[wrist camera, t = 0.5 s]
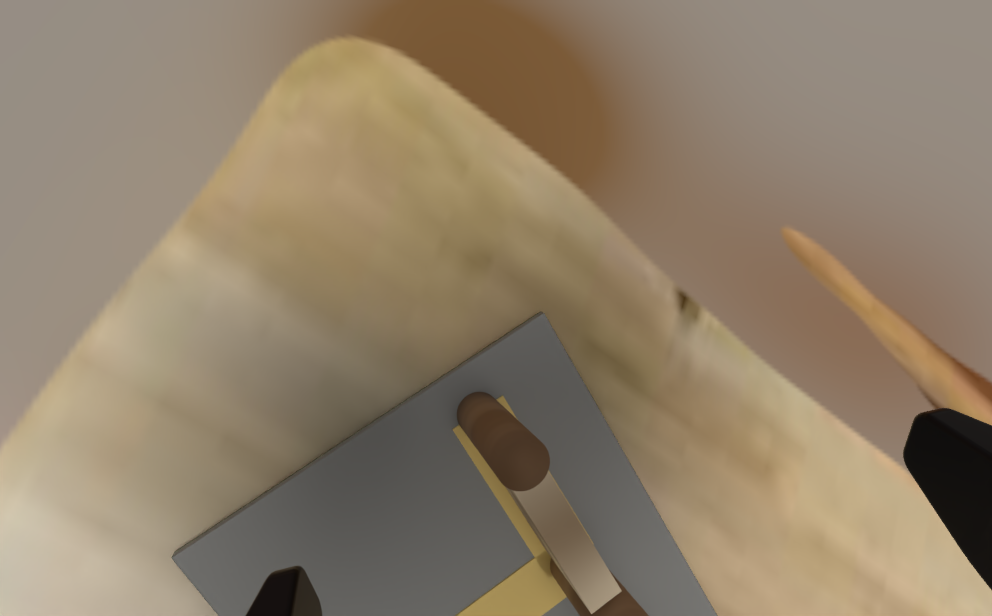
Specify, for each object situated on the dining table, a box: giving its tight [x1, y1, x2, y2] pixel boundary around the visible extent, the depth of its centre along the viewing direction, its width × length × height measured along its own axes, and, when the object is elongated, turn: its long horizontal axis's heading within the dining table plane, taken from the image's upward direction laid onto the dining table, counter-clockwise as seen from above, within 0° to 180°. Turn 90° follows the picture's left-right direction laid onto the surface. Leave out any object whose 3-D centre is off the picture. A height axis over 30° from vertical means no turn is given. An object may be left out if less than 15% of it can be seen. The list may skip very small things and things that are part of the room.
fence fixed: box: [457, 392, 649, 616], centre depth 21 cm, size 9×2×6 cm, turn 30°
